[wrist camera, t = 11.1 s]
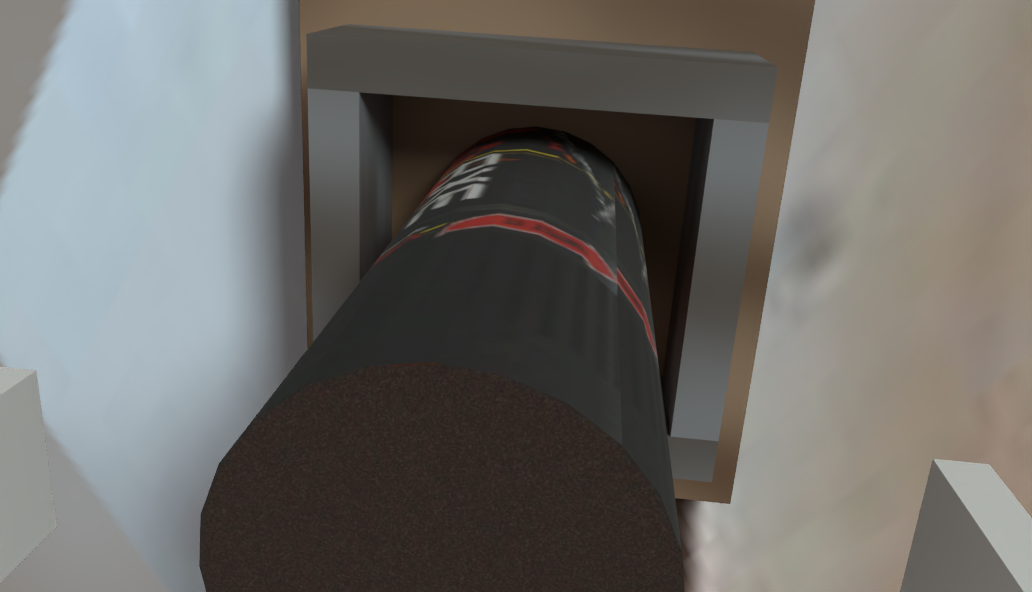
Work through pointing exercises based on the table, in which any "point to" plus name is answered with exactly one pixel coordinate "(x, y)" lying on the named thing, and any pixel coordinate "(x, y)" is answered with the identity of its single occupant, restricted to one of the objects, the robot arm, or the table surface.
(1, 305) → the table surface
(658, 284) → the socket stand
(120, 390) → the table surface
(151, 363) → the table surface
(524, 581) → the deodorant
